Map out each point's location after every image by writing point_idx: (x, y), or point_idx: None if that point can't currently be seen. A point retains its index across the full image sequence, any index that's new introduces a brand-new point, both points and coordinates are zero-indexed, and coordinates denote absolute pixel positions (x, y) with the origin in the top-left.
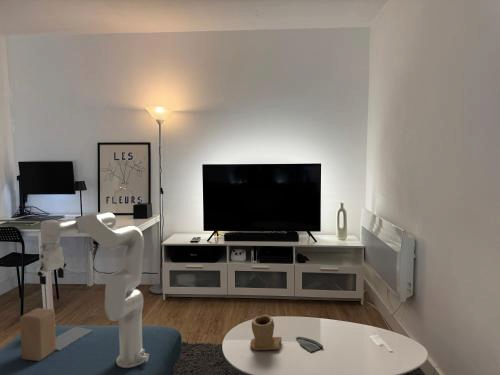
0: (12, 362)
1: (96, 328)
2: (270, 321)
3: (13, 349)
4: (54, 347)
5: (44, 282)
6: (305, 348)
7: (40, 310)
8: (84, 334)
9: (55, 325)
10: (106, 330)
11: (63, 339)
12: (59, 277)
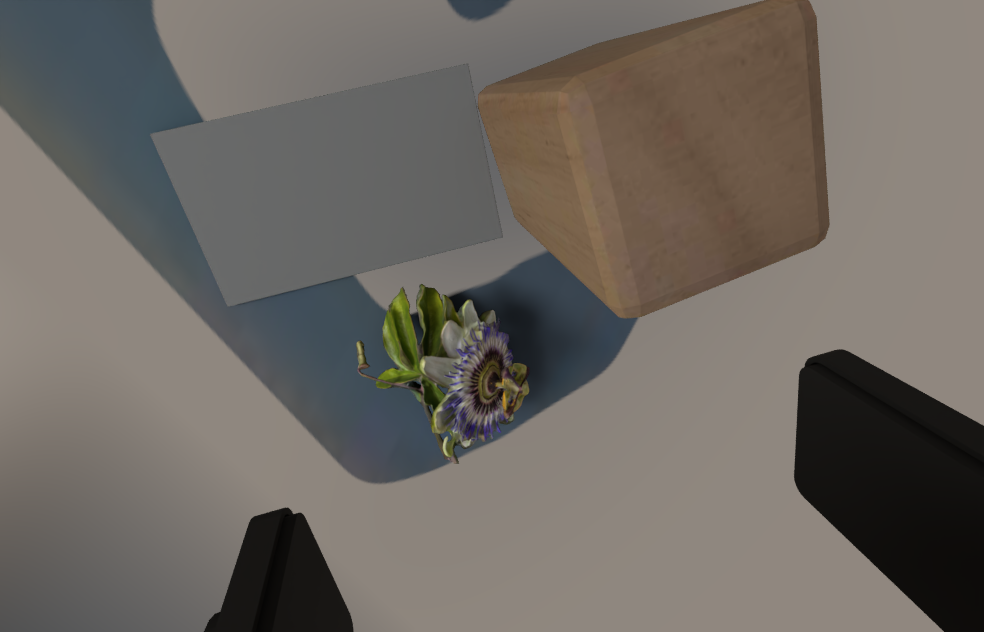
0: None
1: (111, 151)
2: None
3: (591, 332)
4: (497, 82)
5: (878, 386)
6: None
7: (666, 205)
8: (237, 123)
9: (359, 349)
10: (55, 32)
11: (376, 189)
12: (336, 589)
